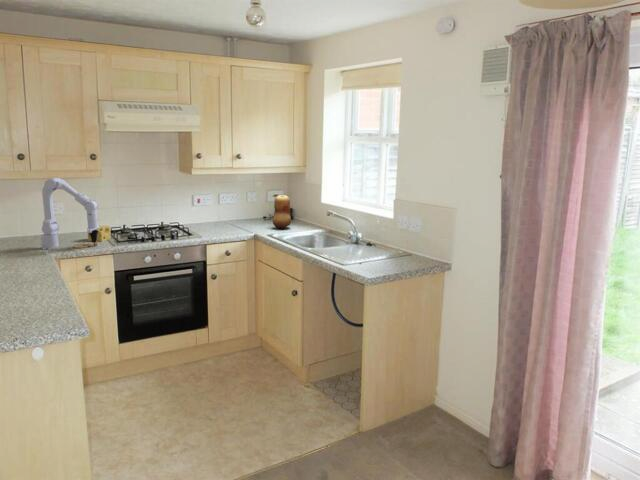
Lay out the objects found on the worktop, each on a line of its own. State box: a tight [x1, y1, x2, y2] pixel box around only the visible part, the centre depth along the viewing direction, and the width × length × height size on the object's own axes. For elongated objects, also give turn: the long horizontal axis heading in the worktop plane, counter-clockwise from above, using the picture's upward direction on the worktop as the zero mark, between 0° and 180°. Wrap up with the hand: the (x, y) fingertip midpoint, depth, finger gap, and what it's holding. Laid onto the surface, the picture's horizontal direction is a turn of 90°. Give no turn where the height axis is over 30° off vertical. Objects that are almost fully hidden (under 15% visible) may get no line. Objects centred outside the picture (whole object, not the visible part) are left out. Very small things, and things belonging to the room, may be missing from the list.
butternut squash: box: [272, 194, 292, 229], centre depth 390 cm, size 14×13×25 cm
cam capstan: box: [73, 241, 98, 249], centre depth 323 cm, size 14×9×6 cm, turn 107°
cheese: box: [86, 225, 112, 243], centre depth 342 cm, size 10×11×10 cm
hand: (94, 242), depth 323 cm, fingers closed, pressing on cam capstan
